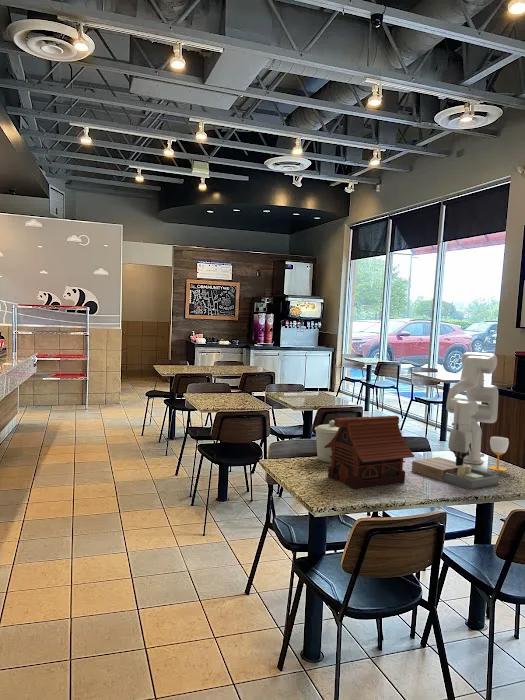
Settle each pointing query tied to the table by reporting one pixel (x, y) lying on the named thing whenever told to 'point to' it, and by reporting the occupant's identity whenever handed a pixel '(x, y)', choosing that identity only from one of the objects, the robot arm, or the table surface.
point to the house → (368, 452)
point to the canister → (325, 440)
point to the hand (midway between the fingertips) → (459, 465)
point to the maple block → (463, 470)
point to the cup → (498, 450)
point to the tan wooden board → (434, 467)
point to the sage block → (472, 476)
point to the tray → (472, 484)
